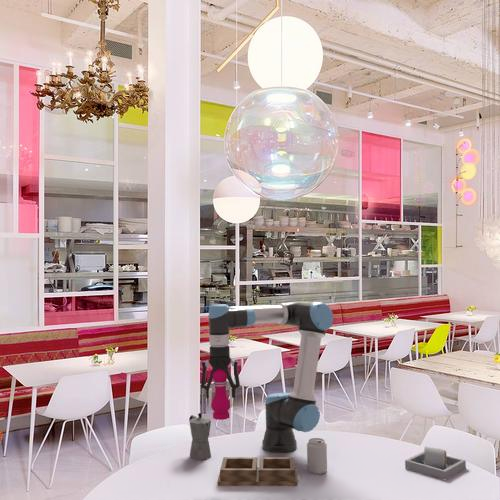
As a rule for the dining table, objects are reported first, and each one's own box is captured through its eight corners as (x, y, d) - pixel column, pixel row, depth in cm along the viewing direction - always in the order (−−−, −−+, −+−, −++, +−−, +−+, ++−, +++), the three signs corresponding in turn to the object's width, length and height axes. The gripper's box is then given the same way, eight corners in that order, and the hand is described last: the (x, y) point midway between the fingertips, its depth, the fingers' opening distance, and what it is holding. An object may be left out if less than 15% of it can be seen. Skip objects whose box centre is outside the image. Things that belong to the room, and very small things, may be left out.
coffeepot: (218, 458, 217) (217, 414, 218) (198, 463, 212) (197, 418, 213) (199, 448, 230) (199, 407, 231) (180, 453, 225) (180, 410, 225)
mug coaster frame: (426, 457, 215) (426, 450, 215) (465, 468, 203) (465, 460, 203) (405, 468, 204) (405, 460, 204) (445, 480, 192) (445, 471, 192)
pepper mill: (227, 420, 193) (226, 366, 194) (209, 419, 195) (207, 365, 196) (232, 415, 200) (231, 362, 201) (214, 414, 202) (213, 362, 203)
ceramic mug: (447, 472, 200) (446, 451, 200) (424, 470, 202) (424, 449, 202) (445, 462, 210) (444, 443, 210) (423, 461, 212) (423, 441, 212)
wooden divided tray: (296, 471, 202) (295, 456, 203) (297, 486, 188) (297, 470, 189) (221, 471, 204) (221, 456, 204) (217, 486, 190) (217, 470, 190)
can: (323, 476, 197) (323, 444, 198) (304, 473, 200) (304, 441, 201) (329, 469, 204) (328, 438, 204) (311, 466, 207) (310, 435, 208)
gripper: (191, 347, 195) (192, 409, 195) (245, 346, 194) (246, 409, 193) (194, 344, 203) (196, 404, 202) (246, 343, 202) (248, 403, 201)
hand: (220, 406), depth 198 cm, fingers closed on pepper mill, 7 cm apart
